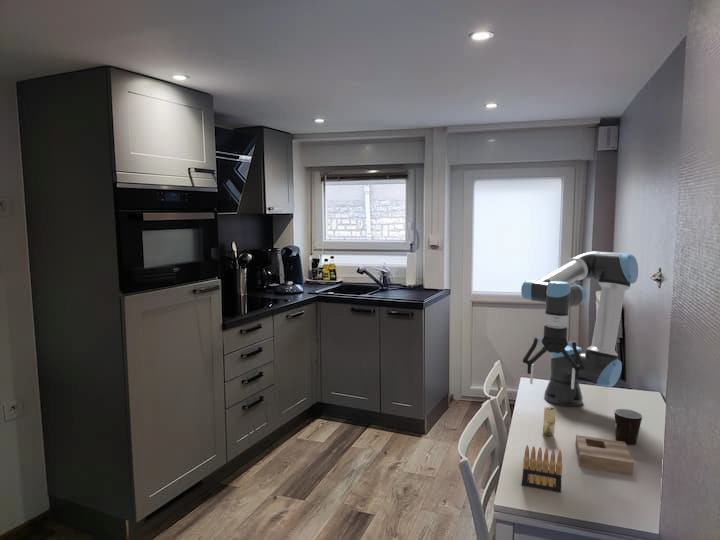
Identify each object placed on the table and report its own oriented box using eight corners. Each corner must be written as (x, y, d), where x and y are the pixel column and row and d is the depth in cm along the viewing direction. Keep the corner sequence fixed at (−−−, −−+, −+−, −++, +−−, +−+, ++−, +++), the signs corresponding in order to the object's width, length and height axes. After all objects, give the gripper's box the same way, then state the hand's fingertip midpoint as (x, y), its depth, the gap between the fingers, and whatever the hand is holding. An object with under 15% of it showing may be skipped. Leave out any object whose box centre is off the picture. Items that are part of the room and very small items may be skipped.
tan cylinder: (542, 432, 184) (544, 405, 183) (553, 434, 183) (555, 407, 182) (542, 436, 181) (544, 409, 179) (554, 438, 179) (556, 411, 178)
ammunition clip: (521, 485, 148) (523, 445, 146) (521, 482, 149) (524, 443, 148) (561, 492, 144) (563, 452, 143) (560, 489, 146) (563, 449, 145)
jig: (575, 446, 174) (576, 434, 173) (624, 453, 169) (625, 442, 169) (579, 466, 160) (580, 454, 159) (632, 475, 155) (633, 462, 155)
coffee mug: (617, 433, 185) (619, 407, 184) (643, 441, 179) (645, 414, 178) (605, 443, 177) (607, 415, 175) (632, 451, 170) (634, 423, 169)
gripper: (517, 324, 178) (514, 383, 180) (596, 331, 170) (591, 393, 172) (518, 320, 185) (515, 377, 187) (593, 327, 177) (589, 386, 179)
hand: (551, 385), depth 180 cm, fingers open, 13 cm apart
